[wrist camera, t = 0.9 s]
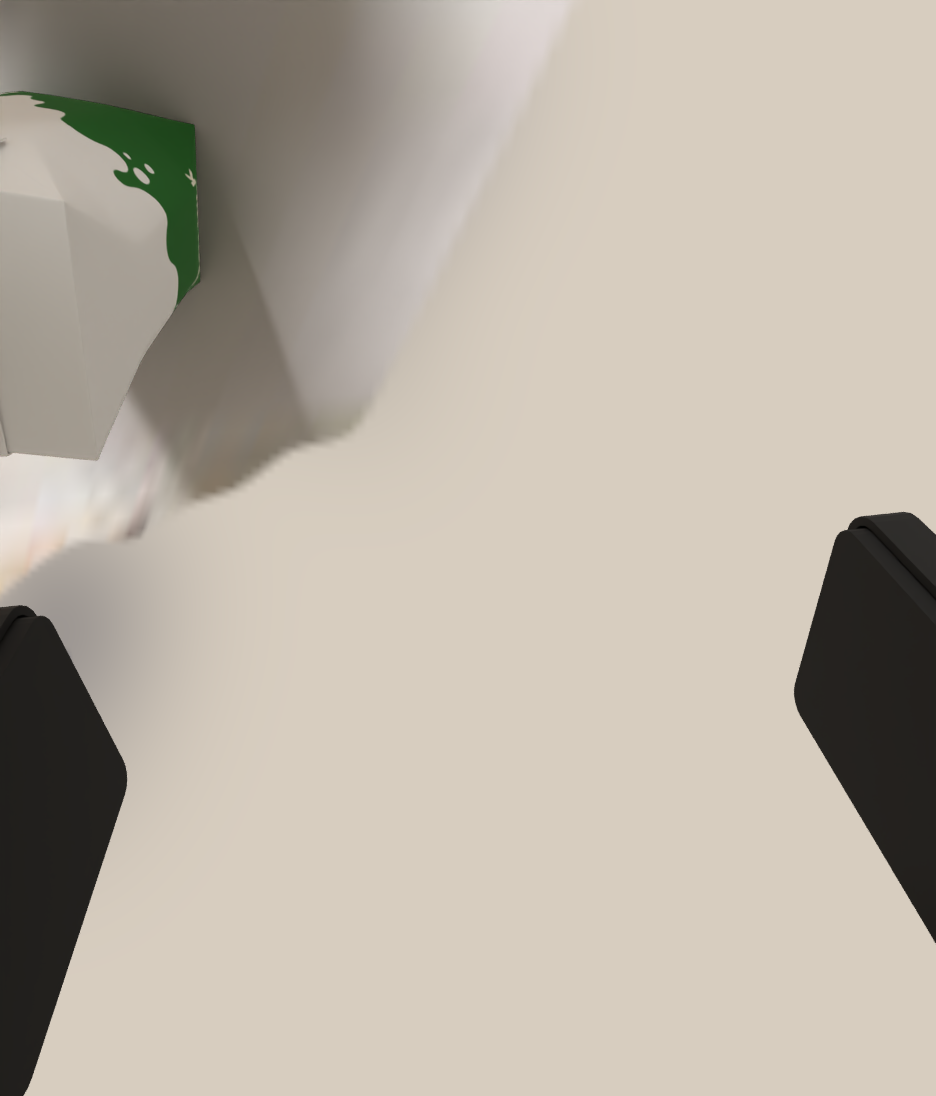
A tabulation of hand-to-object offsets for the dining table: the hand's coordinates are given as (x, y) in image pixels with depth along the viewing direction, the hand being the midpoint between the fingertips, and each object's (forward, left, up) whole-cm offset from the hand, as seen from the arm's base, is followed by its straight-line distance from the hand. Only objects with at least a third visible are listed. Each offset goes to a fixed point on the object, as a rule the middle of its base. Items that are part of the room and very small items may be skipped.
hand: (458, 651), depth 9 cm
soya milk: (-1, -13, -32) cm, 35 cm away
